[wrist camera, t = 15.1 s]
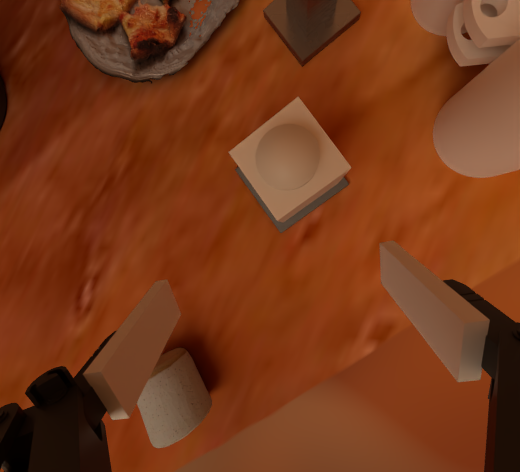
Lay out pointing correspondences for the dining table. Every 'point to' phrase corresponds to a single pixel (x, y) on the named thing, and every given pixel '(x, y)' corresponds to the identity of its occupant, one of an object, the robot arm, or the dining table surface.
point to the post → (310, 23)
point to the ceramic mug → (173, 399)
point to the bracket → (479, 84)
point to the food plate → (141, 34)
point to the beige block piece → (290, 161)
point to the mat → (284, 225)
